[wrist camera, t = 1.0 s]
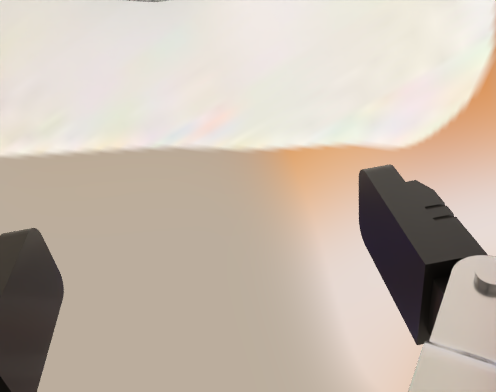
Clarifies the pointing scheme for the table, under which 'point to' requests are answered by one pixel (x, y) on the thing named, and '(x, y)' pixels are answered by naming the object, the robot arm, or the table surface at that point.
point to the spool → (149, 0)
